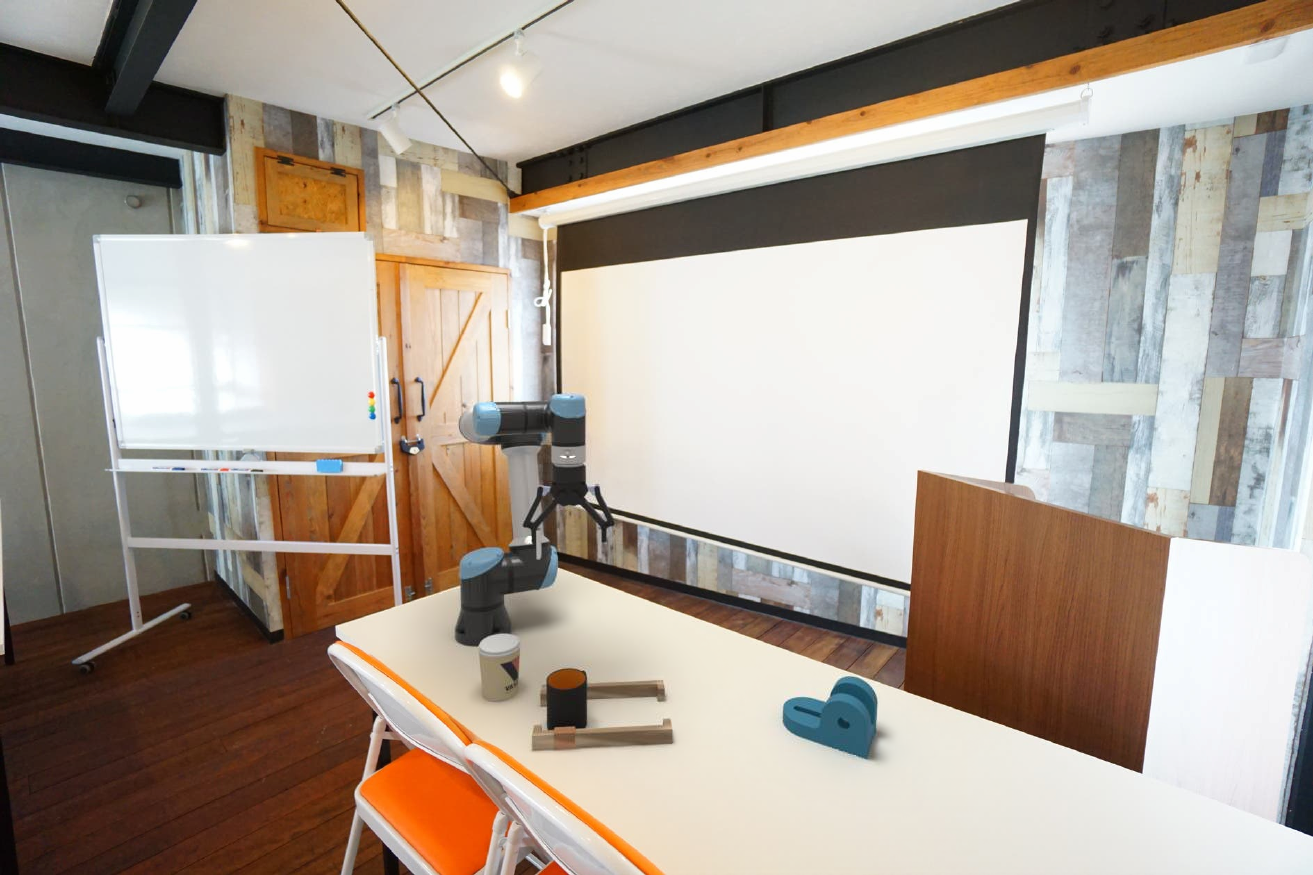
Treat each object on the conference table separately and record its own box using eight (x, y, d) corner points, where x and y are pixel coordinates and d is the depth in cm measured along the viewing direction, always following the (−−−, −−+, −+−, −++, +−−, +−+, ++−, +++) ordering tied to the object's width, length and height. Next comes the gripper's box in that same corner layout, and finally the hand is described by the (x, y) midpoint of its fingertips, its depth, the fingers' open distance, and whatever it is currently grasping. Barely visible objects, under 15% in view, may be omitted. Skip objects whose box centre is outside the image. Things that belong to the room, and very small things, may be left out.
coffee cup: (510, 706, 125) (509, 654, 124) (471, 700, 127) (469, 649, 126) (528, 683, 134) (527, 635, 133) (491, 678, 136) (490, 631, 135)
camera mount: (875, 730, 118) (878, 683, 117) (866, 760, 109) (869, 708, 108) (791, 704, 127) (792, 659, 126) (775, 729, 118) (777, 681, 117)
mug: (602, 709, 124) (602, 664, 123) (573, 742, 113) (573, 693, 112) (570, 700, 128) (570, 656, 126) (538, 731, 117) (538, 683, 115)
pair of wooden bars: (542, 696, 129) (542, 682, 128) (662, 691, 131) (663, 677, 131) (532, 750, 111) (531, 734, 110) (672, 743, 113) (672, 727, 113)
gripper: (508, 467, 121) (510, 563, 124) (625, 466, 123) (625, 561, 126) (514, 461, 128) (515, 552, 131) (624, 461, 131) (624, 550, 133)
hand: (569, 556), depth 128 cm, fingers open, 13 cm apart
